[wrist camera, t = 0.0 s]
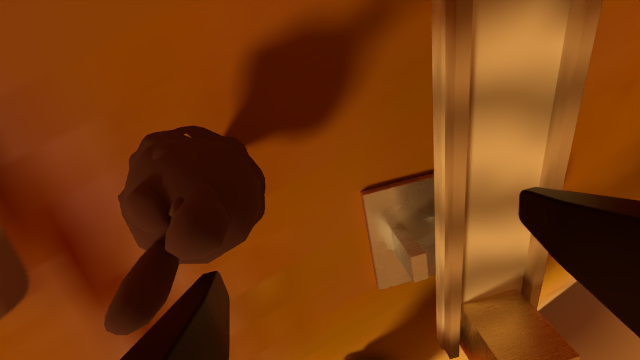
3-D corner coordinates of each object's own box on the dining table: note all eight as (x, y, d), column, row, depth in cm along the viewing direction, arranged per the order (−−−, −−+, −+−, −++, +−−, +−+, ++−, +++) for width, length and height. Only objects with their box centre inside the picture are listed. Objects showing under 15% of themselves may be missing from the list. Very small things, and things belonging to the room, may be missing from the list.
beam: (517, 316, 30) (533, 334, 28) (436, 339, 29) (447, 359, 28) (577, -37, 17) (615, -43, 15) (431, -5, 16) (452, -7, 14)
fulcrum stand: (531, 241, 31) (577, 273, 27) (376, 284, 30) (395, 325, 26) (537, 146, 28) (591, 164, 23) (360, 191, 27) (379, 220, 22)
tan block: (510, 326, 29) (566, 396, 24) (458, 341, 29) (503, 415, 23) (516, 288, 26) (580, 356, 21) (459, 304, 26) (510, 377, 21)
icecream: (203, 82, 22) (90, 128, 8) (287, 148, 24) (312, 269, 11) (146, 158, 23) (-36, 310, 9) (232, 213, 26) (190, 398, 12)
